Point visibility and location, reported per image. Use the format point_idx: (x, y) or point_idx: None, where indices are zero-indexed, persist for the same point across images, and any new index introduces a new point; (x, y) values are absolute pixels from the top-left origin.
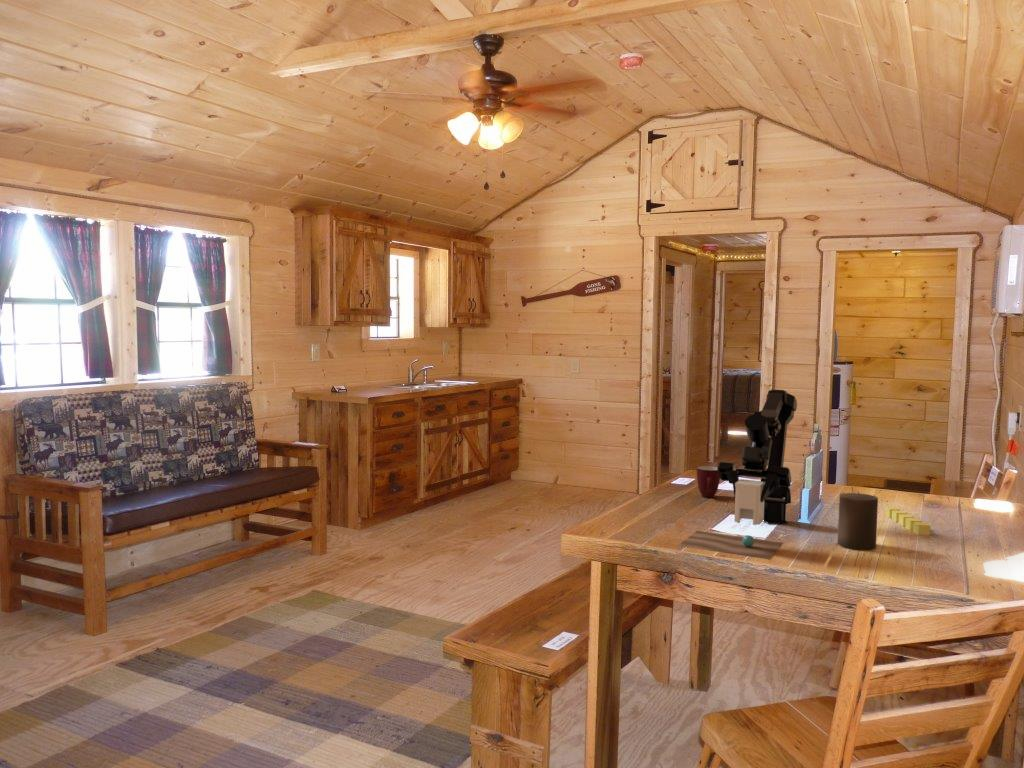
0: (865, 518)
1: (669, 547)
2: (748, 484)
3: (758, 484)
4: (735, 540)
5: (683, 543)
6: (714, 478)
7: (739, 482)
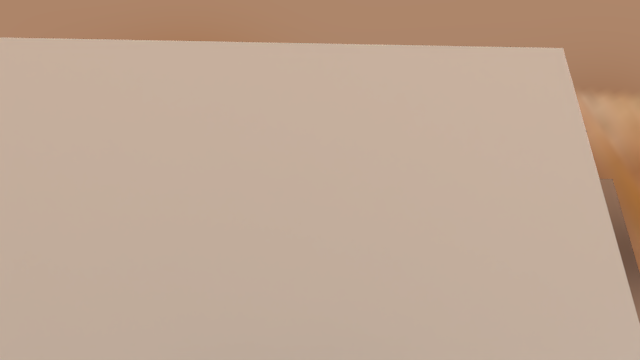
0: None
1: (636, 166)
2: (267, 63)
3: (24, 181)
4: None
5: (615, 235)
6: None
7: (530, 188)
